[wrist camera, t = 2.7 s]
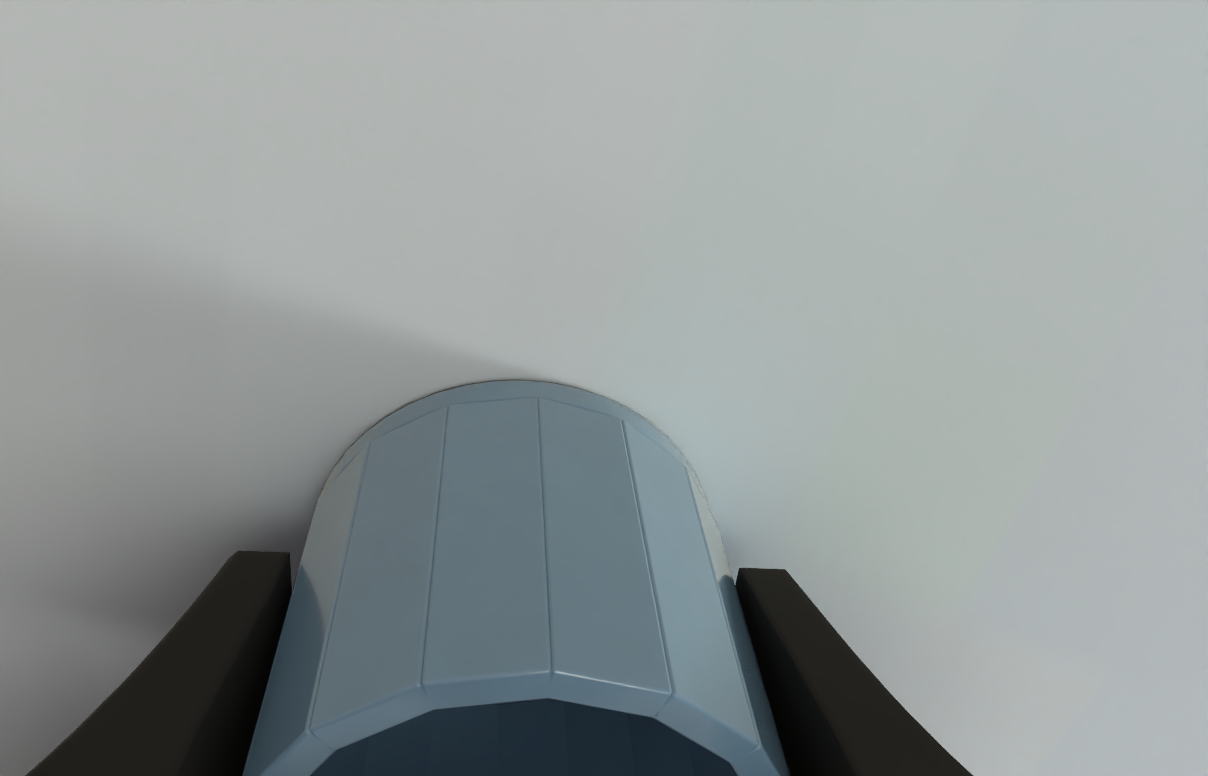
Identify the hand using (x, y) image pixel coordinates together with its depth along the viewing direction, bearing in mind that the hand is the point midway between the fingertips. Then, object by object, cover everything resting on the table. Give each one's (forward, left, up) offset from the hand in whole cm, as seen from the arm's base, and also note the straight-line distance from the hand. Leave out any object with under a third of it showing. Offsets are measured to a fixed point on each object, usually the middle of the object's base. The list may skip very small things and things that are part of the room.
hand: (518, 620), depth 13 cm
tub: (0, 0, -1) cm, 1 cm away
